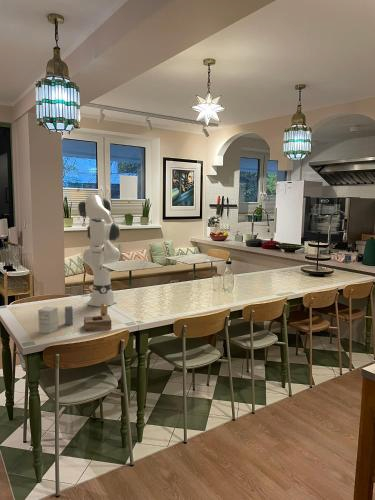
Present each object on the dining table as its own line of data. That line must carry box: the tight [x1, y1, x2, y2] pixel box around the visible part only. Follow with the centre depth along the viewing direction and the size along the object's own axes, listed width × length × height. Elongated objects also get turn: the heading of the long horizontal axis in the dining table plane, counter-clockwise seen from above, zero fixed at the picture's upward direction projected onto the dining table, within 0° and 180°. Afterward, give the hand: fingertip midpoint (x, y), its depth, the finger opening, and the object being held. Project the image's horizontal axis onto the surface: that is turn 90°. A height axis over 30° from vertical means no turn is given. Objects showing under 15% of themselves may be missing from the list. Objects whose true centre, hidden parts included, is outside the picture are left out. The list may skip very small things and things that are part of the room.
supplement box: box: [37, 305, 59, 334], centre depth 207 cm, size 7×7×13 cm
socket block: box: [83, 314, 112, 332], centre depth 214 cm, size 10×14×5 cm
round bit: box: [100, 304, 108, 316], centre depth 225 cm, size 4×4×10 cm
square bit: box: [64, 306, 74, 327], centre depth 218 cm, size 4×4×10 cm
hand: (98, 271), depth 214 cm, fingers open, 8 cm apart
